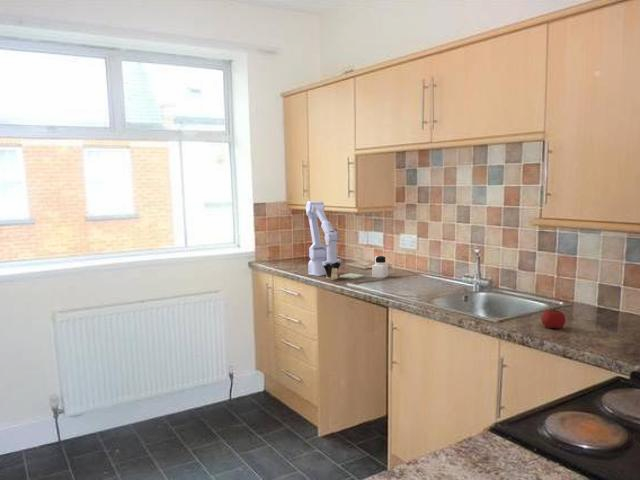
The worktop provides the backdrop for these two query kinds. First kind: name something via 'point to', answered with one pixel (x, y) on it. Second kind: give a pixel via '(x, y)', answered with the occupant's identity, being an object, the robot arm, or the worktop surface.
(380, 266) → the medicine bottle
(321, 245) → the robot arm
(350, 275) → the tile
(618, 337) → the worktop surface
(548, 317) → the tomato
